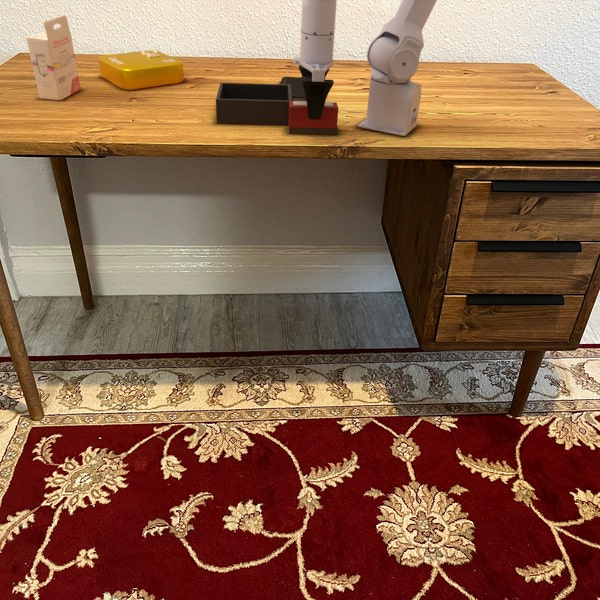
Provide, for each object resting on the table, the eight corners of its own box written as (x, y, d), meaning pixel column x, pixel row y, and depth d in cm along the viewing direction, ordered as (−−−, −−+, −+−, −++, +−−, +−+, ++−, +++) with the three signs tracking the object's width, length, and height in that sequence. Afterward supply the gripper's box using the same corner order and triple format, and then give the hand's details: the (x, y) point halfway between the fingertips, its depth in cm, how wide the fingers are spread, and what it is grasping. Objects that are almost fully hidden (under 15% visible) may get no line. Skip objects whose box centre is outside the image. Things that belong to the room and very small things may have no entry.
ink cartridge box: (60, 87, 128) (45, 12, 119) (81, 89, 127) (68, 14, 118) (37, 98, 121) (21, 20, 112) (60, 101, 120) (45, 22, 111)
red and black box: (335, 128, 112) (337, 101, 109) (337, 135, 109) (339, 106, 106) (288, 127, 112) (289, 99, 109) (288, 133, 109) (289, 105, 106)
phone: (316, 78, 137) (311, 96, 125) (316, 83, 138) (311, 102, 125) (282, 76, 137) (274, 94, 125) (282, 81, 138) (274, 99, 126)
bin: (290, 106, 123) (290, 84, 120) (291, 125, 113) (292, 101, 110) (221, 104, 122) (220, 82, 119) (216, 123, 112) (215, 99, 110)
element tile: (97, 75, 137) (94, 53, 134) (157, 67, 144) (155, 47, 142) (125, 91, 127) (122, 68, 124) (187, 82, 135) (186, 60, 132)
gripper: (293, 23, 106) (290, 99, 114) (295, 40, 95) (292, 124, 102) (332, 24, 107) (327, 101, 115) (339, 41, 95) (333, 125, 103)
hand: (313, 112), depth 108 cm, fingers open, 7 cm apart
